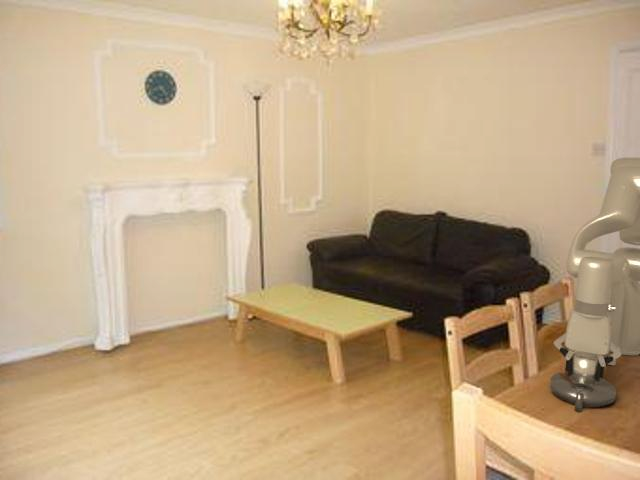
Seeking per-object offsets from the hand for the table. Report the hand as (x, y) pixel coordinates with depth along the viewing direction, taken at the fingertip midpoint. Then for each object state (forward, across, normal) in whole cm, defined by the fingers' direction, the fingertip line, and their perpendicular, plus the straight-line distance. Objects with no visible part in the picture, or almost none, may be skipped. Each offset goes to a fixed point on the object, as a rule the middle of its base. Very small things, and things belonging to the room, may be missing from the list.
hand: (583, 376), depth 146 cm
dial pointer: (+5, 0, +9) cm, 10 cm away
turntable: (+4, 0, 0) cm, 4 cm away
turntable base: (+5, 0, 0) cm, 5 cm away
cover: (+1, 0, 0) cm, 1 cm away
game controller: (+6, -4, -24) cm, 25 cm away
